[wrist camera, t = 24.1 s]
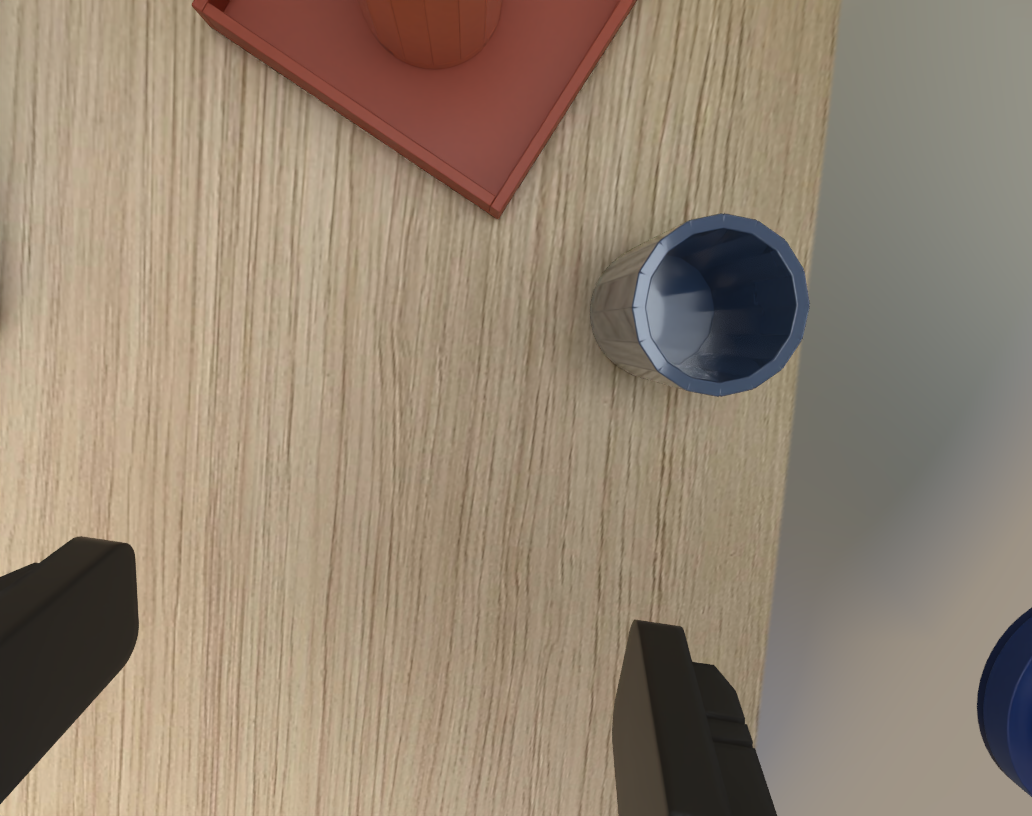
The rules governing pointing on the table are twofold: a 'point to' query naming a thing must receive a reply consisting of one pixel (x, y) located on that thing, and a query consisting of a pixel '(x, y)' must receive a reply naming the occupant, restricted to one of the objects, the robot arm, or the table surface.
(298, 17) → the rust tray
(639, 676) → the robot arm
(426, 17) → the terracotta cup
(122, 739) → the table surface
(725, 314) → the slate cup
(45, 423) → the table surface
